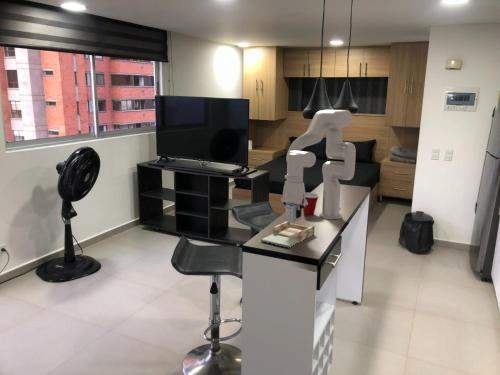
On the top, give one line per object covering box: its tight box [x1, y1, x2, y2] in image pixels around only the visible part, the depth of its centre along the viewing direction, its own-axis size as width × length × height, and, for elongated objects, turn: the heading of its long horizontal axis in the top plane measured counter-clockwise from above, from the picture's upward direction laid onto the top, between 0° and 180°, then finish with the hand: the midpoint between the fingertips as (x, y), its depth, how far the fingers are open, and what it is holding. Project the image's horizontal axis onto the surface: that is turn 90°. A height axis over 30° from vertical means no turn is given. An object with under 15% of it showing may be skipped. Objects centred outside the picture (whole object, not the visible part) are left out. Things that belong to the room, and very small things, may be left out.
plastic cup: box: [302, 192, 320, 216], centre depth 235 cm, size 11×11×12 cm
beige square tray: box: [272, 221, 316, 243], centre depth 198 cm, size 14×15×4 cm
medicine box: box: [284, 203, 303, 223], centre depth 196 cm, size 8×4×9 cm, turn 141°
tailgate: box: [260, 233, 301, 249], centre depth 189 cm, size 1×15×11 cm
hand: (293, 216), depth 196 cm, fingers closed on medicine box, 4 cm apart
